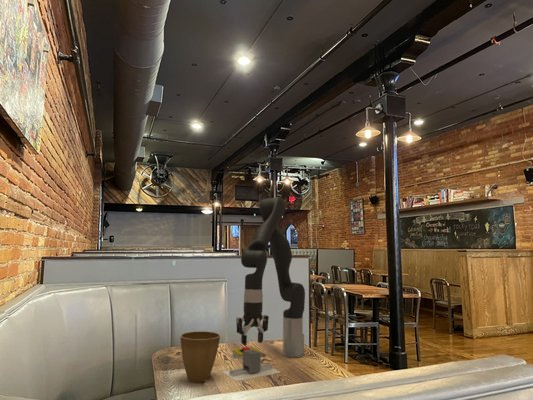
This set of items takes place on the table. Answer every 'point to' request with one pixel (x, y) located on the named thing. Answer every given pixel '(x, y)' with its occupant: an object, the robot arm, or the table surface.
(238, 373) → the rail
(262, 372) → the mounting plate
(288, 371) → the table surface
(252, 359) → the block
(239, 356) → the emergency button
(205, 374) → the plant pot
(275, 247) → the robot arm
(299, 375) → the table surface
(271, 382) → the table surface
